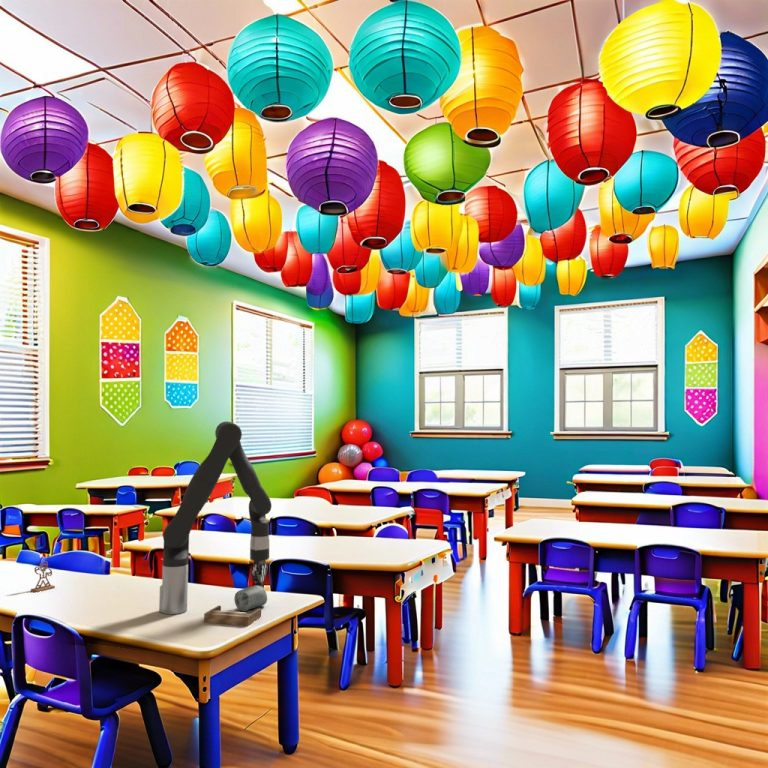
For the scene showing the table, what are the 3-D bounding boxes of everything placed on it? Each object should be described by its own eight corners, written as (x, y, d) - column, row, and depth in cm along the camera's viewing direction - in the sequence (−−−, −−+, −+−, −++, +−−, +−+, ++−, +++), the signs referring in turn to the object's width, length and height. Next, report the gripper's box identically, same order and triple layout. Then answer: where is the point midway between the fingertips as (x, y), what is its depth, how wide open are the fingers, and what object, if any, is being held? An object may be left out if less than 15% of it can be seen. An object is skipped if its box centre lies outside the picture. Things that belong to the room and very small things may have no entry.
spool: (245, 606, 251) (243, 579, 256) (229, 614, 255) (227, 588, 261) (274, 608, 260) (271, 582, 265) (258, 616, 265) (256, 590, 270)
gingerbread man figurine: (49, 587, 291) (50, 558, 292) (55, 588, 290) (56, 559, 290) (30, 591, 283) (31, 562, 284) (36, 592, 282) (37, 563, 282)
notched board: (203, 622, 242) (204, 611, 242) (218, 613, 253) (218, 603, 253) (248, 625, 238) (248, 615, 239) (261, 617, 249) (261, 607, 249)
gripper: (257, 543, 277) (257, 586, 276) (243, 549, 264) (243, 595, 263) (274, 544, 275) (274, 587, 274) (262, 550, 262) (261, 596, 261)
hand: (259, 591), depth 268 cm, fingers closed
